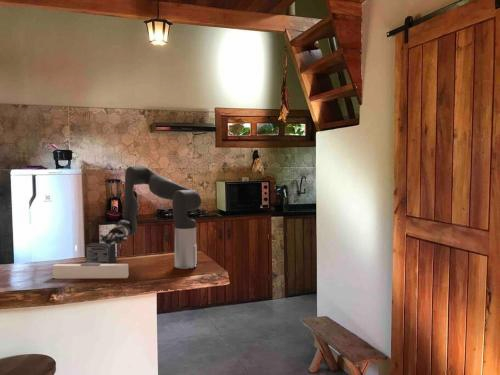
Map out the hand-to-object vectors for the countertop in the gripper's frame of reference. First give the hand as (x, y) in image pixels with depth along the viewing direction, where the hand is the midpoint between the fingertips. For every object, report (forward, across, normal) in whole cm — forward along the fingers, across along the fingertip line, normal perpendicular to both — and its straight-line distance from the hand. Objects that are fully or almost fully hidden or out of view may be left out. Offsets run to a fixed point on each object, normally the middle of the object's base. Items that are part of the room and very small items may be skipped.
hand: (107, 241), depth 175 cm
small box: (+10, 0, +9) cm, 14 cm away
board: (+23, 0, +9) cm, 24 cm away
